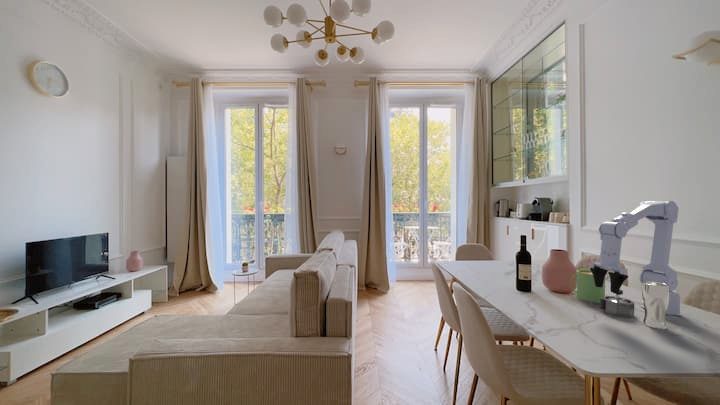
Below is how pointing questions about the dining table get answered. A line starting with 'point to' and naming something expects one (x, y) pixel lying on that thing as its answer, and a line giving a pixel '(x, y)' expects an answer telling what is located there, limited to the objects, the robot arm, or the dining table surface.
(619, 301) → the plunger
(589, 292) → the mug
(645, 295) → the beer glass
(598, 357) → the dining table surface
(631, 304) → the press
